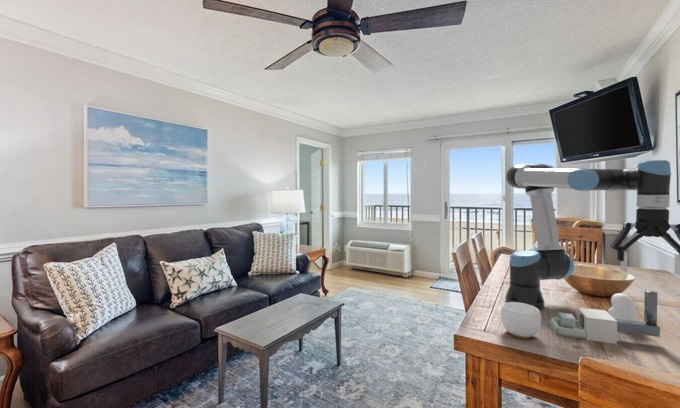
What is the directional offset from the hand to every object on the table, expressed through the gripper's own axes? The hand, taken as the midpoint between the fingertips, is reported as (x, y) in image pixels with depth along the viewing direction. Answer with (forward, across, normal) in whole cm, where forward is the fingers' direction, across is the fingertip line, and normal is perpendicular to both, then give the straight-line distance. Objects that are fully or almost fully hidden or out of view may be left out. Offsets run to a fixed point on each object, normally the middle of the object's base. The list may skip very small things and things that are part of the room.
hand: (650, 272), depth 101 cm
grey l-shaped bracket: (+20, -8, -1) cm, 22 cm away
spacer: (+20, -21, 0) cm, 29 cm away
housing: (+23, -14, -1) cm, 27 cm away
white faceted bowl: (+24, -38, -10) cm, 46 cm away
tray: (+23, -22, -1) cm, 32 cm away
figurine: (+24, -2, +12) cm, 27 cm away
